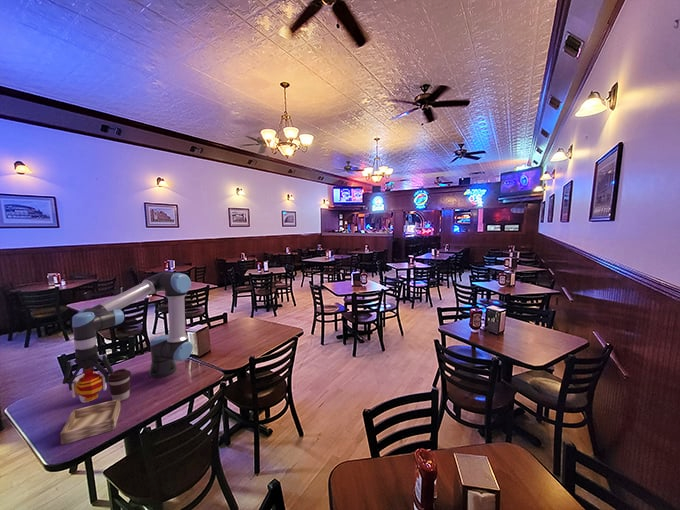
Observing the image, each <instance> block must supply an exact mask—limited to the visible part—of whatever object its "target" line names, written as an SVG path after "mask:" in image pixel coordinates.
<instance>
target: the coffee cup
mask: <svg viewBox="0 0 680 510" xmlns="http://www.w3.org/2000/svg"><path fill="white" fill-rule="evenodd" d="M131 372H132V371H131V370H128V369H126V368H120V369H117V370H113V373H112V374H110V375H109V381H108V382H107V383H109V384H108V385H109V390H110V395H111V399H112V401H113V400H116V399H119V398H120V402H122V401H123V402H124V401H125V400H127V399H128V398H129V397H130V395H131V394H130V390H131V374H132V373H131Z"/></svg>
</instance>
